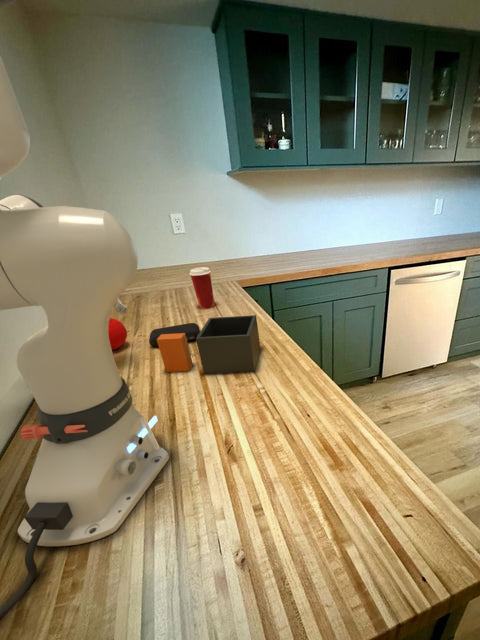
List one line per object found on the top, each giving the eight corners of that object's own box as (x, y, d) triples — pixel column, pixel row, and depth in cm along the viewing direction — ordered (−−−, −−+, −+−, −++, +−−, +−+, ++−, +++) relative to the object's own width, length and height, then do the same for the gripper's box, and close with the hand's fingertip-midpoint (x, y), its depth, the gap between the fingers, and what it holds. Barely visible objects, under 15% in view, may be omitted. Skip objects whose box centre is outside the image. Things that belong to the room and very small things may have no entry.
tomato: (109, 340, 105) (97, 310, 100) (138, 341, 103) (128, 310, 98) (84, 355, 97) (70, 323, 92) (115, 357, 94) (103, 323, 89)
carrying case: (150, 351, 96) (202, 341, 100) (147, 341, 95) (200, 332, 99) (151, 337, 105) (199, 329, 109) (148, 328, 104) (197, 320, 108)
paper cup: (221, 304, 130) (214, 267, 123) (206, 310, 125) (198, 272, 118) (207, 302, 134) (199, 266, 127) (192, 308, 129) (183, 270, 122)
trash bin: (254, 371, 82) (249, 335, 77) (203, 374, 83) (195, 338, 78) (260, 347, 94) (256, 315, 89) (215, 350, 94) (209, 317, 90)
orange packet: (189, 370, 85) (181, 338, 80) (166, 372, 85) (156, 339, 80) (193, 364, 87) (185, 332, 83) (170, 366, 88) (161, 334, 83)
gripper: (31, 280, 64) (99, 325, 69) (88, 258, 82) (140, 295, 87) (19, 304, 67) (86, 346, 71) (78, 278, 85) (128, 313, 89)
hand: (116, 318), depth 79 cm, fingers open, 8 cm apart
